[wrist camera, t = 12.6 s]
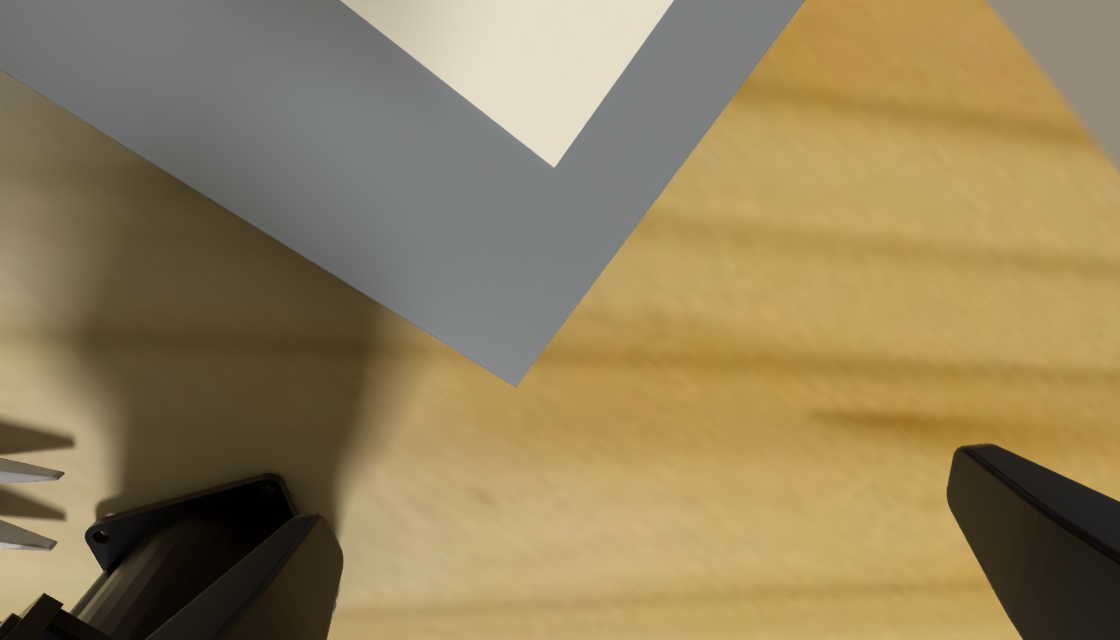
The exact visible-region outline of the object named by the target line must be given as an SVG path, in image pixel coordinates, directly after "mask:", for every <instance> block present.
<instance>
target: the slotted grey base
mask: <svg viewBox="0 0 1120 640" xmlns="http://www.w3.org/2000/svg"><path fill="white" fill-rule="evenodd" d="M804 1H805V0H0V70H2V71H3V72H5V73H6V74H8V75H10V76H11V77H13V78H15V79H16V80H18V81H19V82H21V83H23V84H24V85H26V86H28V87H29V88H31V89H32V90H34V91H36V92H37V93H39V94H41V95H42V96H44V97H45V98H47V99H49V100H50V101H52V102H54V103H55V104H57V105H58V106H60V107H62V108H63V109H65V110H66V111H68V112H70V113H71V114H73V115H75V116H76V117H78V118H79V119H81V120H83V121H84V122H86V123H88V124H89V125H91V126H92V127H94V128H96V129H97V130H99V131H101V132H102V133H104V134H105V135H107V136H109V137H110V138H112V139H114V140H115V141H117V142H118V143H120V144H122V145H123V146H125V147H127V148H128V149H130V150H131V151H133V152H135V153H136V154H138V155H139V156H141V157H143V158H144V159H146V160H148V161H149V162H151V163H152V164H154V165H156V166H157V167H159V168H161V169H162V170H164V171H165V172H167V173H169V174H170V175H172V176H174V177H175V178H177V179H178V180H180V181H182V182H183V183H185V184H187V185H188V186H190V187H191V188H193V189H195V190H196V191H198V192H200V193H201V194H203V195H204V196H206V197H208V198H209V199H211V200H213V201H214V202H216V203H217V204H219V205H221V206H222V207H224V208H225V209H227V210H229V211H230V212H232V213H234V214H235V215H237V216H238V217H240V218H242V219H243V220H245V221H247V222H248V223H250V224H251V225H253V226H255V227H256V228H258V229H260V230H261V231H263V232H264V233H266V234H268V235H269V236H271V237H273V238H274V239H276V240H277V241H279V242H281V243H282V244H284V245H286V246H287V247H289V248H290V249H292V250H294V251H295V252H297V253H298V254H300V255H302V256H303V257H305V258H307V259H308V260H310V261H311V262H313V263H315V264H316V265H318V266H320V267H321V268H323V269H324V270H326V271H328V272H329V273H331V274H333V275H334V276H336V277H337V278H339V279H341V280H342V281H344V282H346V283H347V284H349V285H350V286H352V287H354V288H355V289H357V290H359V291H360V292H362V293H363V294H365V295H367V296H368V297H370V298H371V299H373V300H375V301H376V302H378V303H380V304H381V305H383V306H384V307H386V308H388V309H389V310H391V311H393V312H394V313H396V314H397V315H399V316H401V317H402V318H404V319H406V320H407V321H409V322H410V323H412V324H414V325H415V326H417V327H419V328H420V329H422V330H423V331H425V332H427V333H428V334H430V335H432V336H433V337H435V338H436V339H438V340H440V341H441V342H443V343H444V344H446V345H448V346H449V347H451V348H453V349H454V350H456V351H457V352H459V353H461V354H462V355H464V356H466V357H467V358H469V359H470V360H472V361H474V362H475V363H477V364H479V365H480V366H482V367H483V368H485V369H487V370H488V371H490V372H492V373H493V374H495V375H496V376H498V377H500V378H501V379H503V380H505V381H506V382H508V383H509V384H511V385H513V386H514V387H516V386H517V385H518V384H519V382H520V381H521V380H522V378H523V377H524V376H525V374H526V373H527V372H528V370H529V369H530V368H531V366H532V365H533V363H534V362H535V361H536V359H537V358H538V357H539V355H540V354H541V353H542V351H543V350H544V349H545V347H546V346H547V345H548V343H549V342H550V341H551V339H552V338H553V337H554V335H555V334H556V333H557V331H558V330H559V329H560V327H561V326H562V325H563V323H564V322H565V321H566V319H567V318H568V317H569V315H570V314H571V313H572V311H573V310H574V309H575V307H576V306H577V305H578V303H579V302H580V301H581V299H582V298H583V297H584V295H585V294H586V293H587V291H588V290H589V289H590V287H591V286H592V285H593V283H594V282H595V281H596V279H597V278H598V277H599V275H600V274H601V273H602V271H603V270H604V269H605V267H606V266H607V265H608V263H609V262H610V261H611V259H612V258H613V257H614V255H615V254H616V253H617V251H618V250H619V249H620V247H621V246H622V245H623V243H624V242H625V241H626V239H627V238H628V237H629V235H630V234H631V233H632V231H633V230H634V229H635V227H636V226H637V225H638V223H639V222H640V221H641V219H642V218H643V217H644V215H645V214H646V213H647V211H648V210H649V208H650V207H651V206H652V204H653V203H654V202H655V200H656V199H657V198H658V196H659V195H660V194H661V192H662V191H663V190H664V188H665V187H666V186H667V184H668V183H669V182H670V180H671V179H672V178H673V176H674V175H675V174H676V172H677V171H678V170H679V168H680V167H681V166H682V164H683V163H684V162H685V160H686V159H687V158H688V156H689V155H690V154H691V152H692V151H693V150H694V148H695V147H696V146H697V144H698V143H699V142H700V140H701V139H702V138H703V136H704V135H705V134H706V132H707V131H708V130H709V128H710V127H711V126H712V124H713V123H714V122H715V120H716V119H717V118H718V116H719V115H720V114H721V112H722V111H723V110H724V108H725V107H726V106H727V104H728V103H729V102H730V100H731V99H732V98H733V96H734V95H735V94H736V92H737V91H738V90H739V88H740V87H741V86H742V84H743V83H744V82H745V80H746V79H747V78H748V76H749V75H750V74H751V72H752V71H753V70H754V68H755V67H756V66H757V64H758V63H759V62H760V60H761V59H762V58H763V56H764V55H765V53H766V52H767V51H768V49H769V48H770V47H771V45H772V44H773V43H774V41H775V40H776V39H777V37H778V36H779V35H780V33H781V32H782V31H783V29H784V28H785V27H786V25H787V24H788V23H789V21H790V20H791V19H792V17H793V16H794V15H795V13H796V12H797V11H798V9H799V8H800V7H801V5H802V4H803V3H804Z"/></svg>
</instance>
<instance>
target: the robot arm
mask: <svg viewBox="0 0 1120 640" xmlns="http://www.w3.org/2000/svg"><path fill="white" fill-rule="evenodd" d="M263 486H270V487H272V488H273V489H274V491H273V492H268V491H265V489H264V488H263ZM947 501H948V504H949V507H950V510H951V512H952V514H953V515H954V517H955V519H956V521H957V523H958V525H959V527H960V528H961V530H962V532H963V534H964V536H965V538H966V540H967V542H968V543H969V545H970V547H971V549H972V551H973V553H974V555H975V557H976V558H977V560H978V562H979V564H980V566H981V568H982V570H983V571H984V573H985V575H986V577H987V579H988V581H989V583H990V585H991V586H992V588H993V590H994V592H995V594H996V596H997V598H998V599H999V601H1000V603H1001V605H1002V606H1003V608H1004V610H1005V612H1006V613H1007V615H1008V617H1009V619H1010V620H1011V622H1012V623H1013V625H1014V626H1015V628H1016V630H1017V631H1018V633H1019V634H1020V636H1021V637H1022V639H1023V640H1120V502H1119V501H1117V500H1115V499H1113V498H1111V497H1108V496H1106V495H1104V494H1102V493H1100V492H1097V491H1095V490H1093V489H1091V488H1089V487H1086V486H1084V485H1082V484H1080V483H1078V482H1076V481H1073V480H1071V479H1069V478H1067V477H1065V476H1062V475H1060V474H1058V473H1056V472H1054V471H1052V470H1049V469H1047V468H1045V467H1043V466H1041V465H1038V464H1036V463H1034V462H1032V461H1030V460H1027V459H1025V458H1023V457H1021V456H1019V455H1017V454H1014V453H1012V452H1010V451H1008V450H1006V449H1003V448H1001V447H999V446H997V445H994V444H987V443H985V444H975V445H965V446H961V447H958V448H957V449H956V451H955V452H954V455H953V460H952V465H951V470H950V475H949V480H948V485H947ZM101 531H104V532H107V533H108V534H109V535H110V536H106V535H103V534H102V533H101ZM85 539H86V542H87V544H88V546H89V547H90V549H91V551H92V552H93V554H94V556H95V557H96V559H97V561H98V563H99V564H100V566H101V568H102V569H103V571H104V572H103V573H102V574H101V576H100V577H99V578H98V579H97V580H96V582H95V583H94V584H93V585H92V586H91V588H90V589H89V590H88V591H87V592H86V594H85V595H84V596H83V597H82V598H81V600H80V601H79V602H78V603H77V605H76V606H75V607H74V608H73V609H72V611H71V612H70V613H68V612H66V611H64V610H63V609H61V607H62V606H63V603H61V602H59V601H57V600H56V599H54V598H52V597H50V596H49V595H47V594H45V593H43V594H42V595H41V596H40V597H39V598H38V599H36V600H35V601H34V602H33V603H32V604H31V605H30V606H29V607H28V608H27V609H25V610H24V611H23V612H22V613H21V614H20V615H19V616H17V615H15V614H14V613H12V614H10V615H9V616H8V617H7V618H6V619H5V620H3V621H2V622H1V621H0V640H327V637H328V632H329V628H330V623H331V619H332V617H333V615H334V612H335V608H336V597H337V592H338V588H339V583H340V579H341V574H342V570H343V553H342V549H341V547H340V545H339V543H338V540H337V538H336V536H335V534H334V532H333V529H332V527H331V525H330V523H329V521H328V519H327V517H326V516H325V515H323V514H320V513H315V514H306V515H299V514H298V512H297V509H296V507H295V505H294V502H293V500H292V498H291V495H290V493H289V491H288V488H287V486H286V484H285V481H284V480H283V479H282V477H280V476H278V475H277V474H272V473H268V474H263V475H259V476H255V477H251V478H248V479H244V480H240V481H237V482H233V483H229V484H226V485H222V486H218V487H215V488H211V489H207V490H203V491H200V492H196V493H192V494H189V495H185V496H181V497H178V498H174V499H170V500H167V501H163V502H159V503H155V504H152V505H148V506H144V507H141V508H137V509H133V510H130V511H126V512H122V513H119V514H115V515H111V516H107V517H104V518H101V519H99V520H97V521H96V522H95V523H94V524H93V525H92V526H91V527H90V528H89V529H88V530H87V531H86V533H85Z"/></svg>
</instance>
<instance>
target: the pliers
mask: <svg viewBox="0 0 1120 640" xmlns="http://www.w3.org/2000/svg"><path fill="white" fill-rule="evenodd" d="M63 475H64V472H61V471H57V470H52V469H48V468H43V467H39V466H34V465H30V464H26V463H21V462H17V461H12V460H8V459H3V458H0V484H5V483H22V482H39V481H55V480H58V479H59V478H60V477H62V476H63ZM56 544H57V541H54V540H52V539H49V538H46V537H44V536H41V535H39V534H36V533H33V532H31V531H28V530H26V529H23V528H20V527H18V526H15V525H13V524H10V523H7V522H5V521H2V520H0V549H19V550H42V551H51V550H52V549H53V548H54V547H55V546H56Z"/></svg>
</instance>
